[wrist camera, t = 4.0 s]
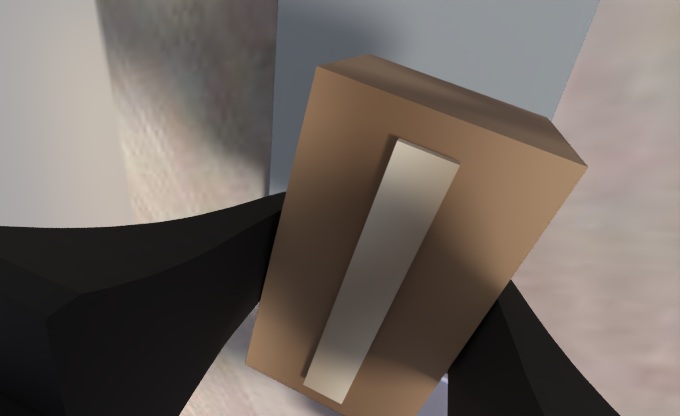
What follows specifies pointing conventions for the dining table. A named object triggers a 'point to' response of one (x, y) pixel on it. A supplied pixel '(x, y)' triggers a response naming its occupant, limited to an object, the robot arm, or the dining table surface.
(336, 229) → the taped cardboard box
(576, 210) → the dining table surface
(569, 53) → the rubber mat
